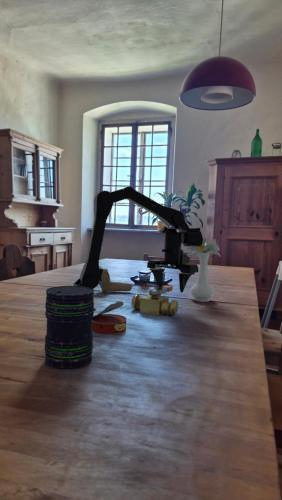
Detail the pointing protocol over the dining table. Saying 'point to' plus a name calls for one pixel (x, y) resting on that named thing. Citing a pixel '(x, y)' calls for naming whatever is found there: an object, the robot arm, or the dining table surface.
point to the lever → (160, 290)
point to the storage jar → (69, 327)
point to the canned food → (109, 321)
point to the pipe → (112, 284)
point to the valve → (155, 305)
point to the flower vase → (203, 270)
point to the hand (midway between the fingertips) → (170, 290)
